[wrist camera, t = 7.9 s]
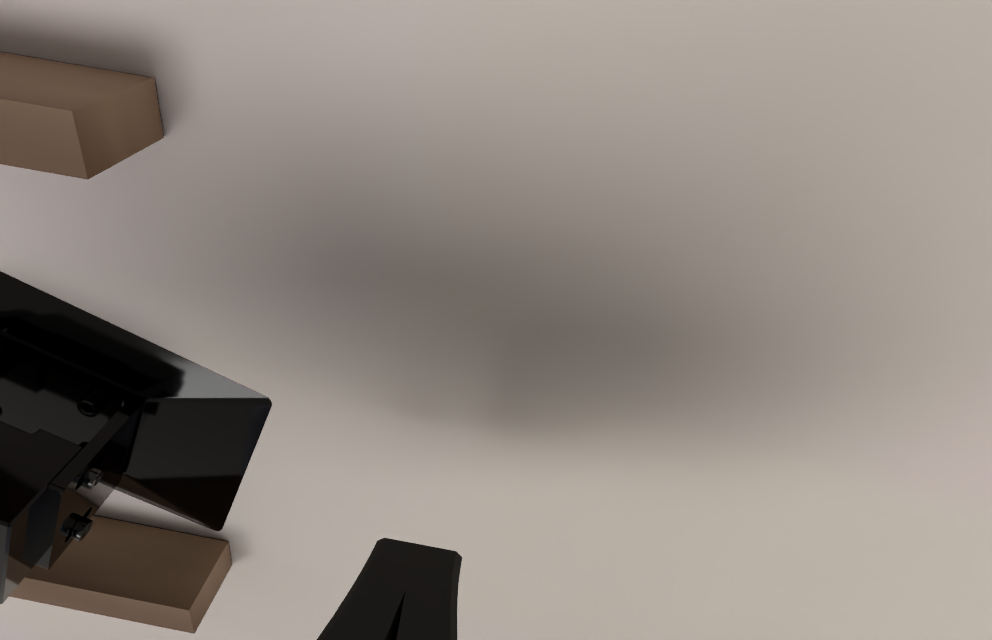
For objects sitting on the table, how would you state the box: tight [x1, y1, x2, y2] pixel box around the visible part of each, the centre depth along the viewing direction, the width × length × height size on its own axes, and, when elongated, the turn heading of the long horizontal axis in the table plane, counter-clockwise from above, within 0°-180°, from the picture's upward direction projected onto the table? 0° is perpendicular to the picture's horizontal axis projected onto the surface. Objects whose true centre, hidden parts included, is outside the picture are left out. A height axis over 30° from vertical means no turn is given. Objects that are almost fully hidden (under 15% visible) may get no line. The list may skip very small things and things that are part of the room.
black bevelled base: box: [0, 271, 272, 604], centre depth 13 cm, size 12×7×5 cm, turn 62°
